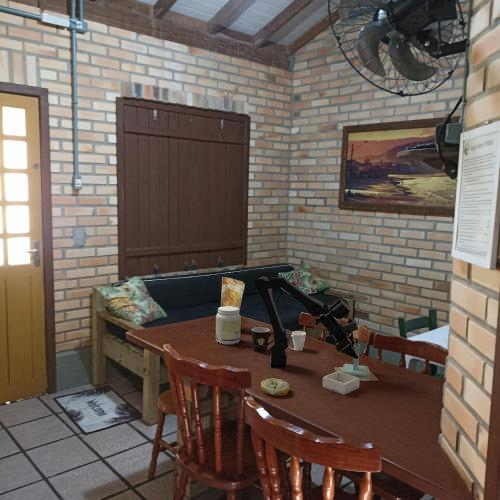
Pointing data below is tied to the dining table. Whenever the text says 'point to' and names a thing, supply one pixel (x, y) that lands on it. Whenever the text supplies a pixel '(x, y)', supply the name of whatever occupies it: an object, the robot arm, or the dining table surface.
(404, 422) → the dining table surface
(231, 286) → the pancake mix bag
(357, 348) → the lid
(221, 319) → the supplement tub
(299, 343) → the cup
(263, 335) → the coffee mug
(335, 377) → the tub
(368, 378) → the board
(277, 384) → the decorated donut
